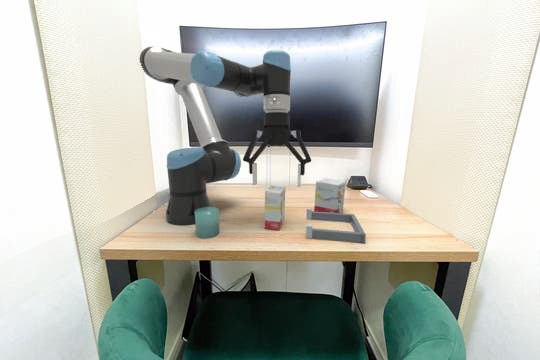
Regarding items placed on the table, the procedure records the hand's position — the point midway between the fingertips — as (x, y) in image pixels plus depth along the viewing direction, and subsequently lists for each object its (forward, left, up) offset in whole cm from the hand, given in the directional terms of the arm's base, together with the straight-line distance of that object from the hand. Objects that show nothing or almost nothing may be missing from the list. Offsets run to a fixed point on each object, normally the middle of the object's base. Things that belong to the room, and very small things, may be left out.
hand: (276, 185), depth 64 cm
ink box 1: (0, 0, -13) cm, 13 cm away
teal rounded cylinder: (-18, -10, -13) cm, 24 cm away
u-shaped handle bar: (+18, 0, -13) cm, 22 cm away
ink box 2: (+18, +16, -13) cm, 27 cm away
